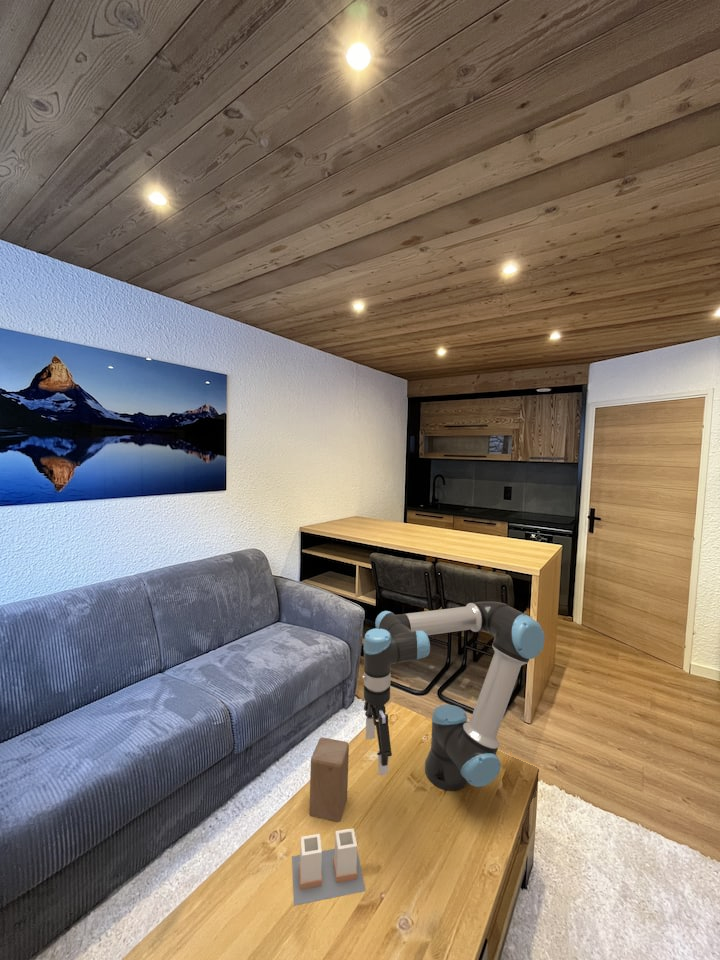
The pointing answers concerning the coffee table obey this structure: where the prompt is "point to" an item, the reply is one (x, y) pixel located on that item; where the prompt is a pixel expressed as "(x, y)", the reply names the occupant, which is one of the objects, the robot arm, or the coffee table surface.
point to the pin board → (325, 881)
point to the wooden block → (329, 779)
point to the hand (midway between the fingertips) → (376, 754)
